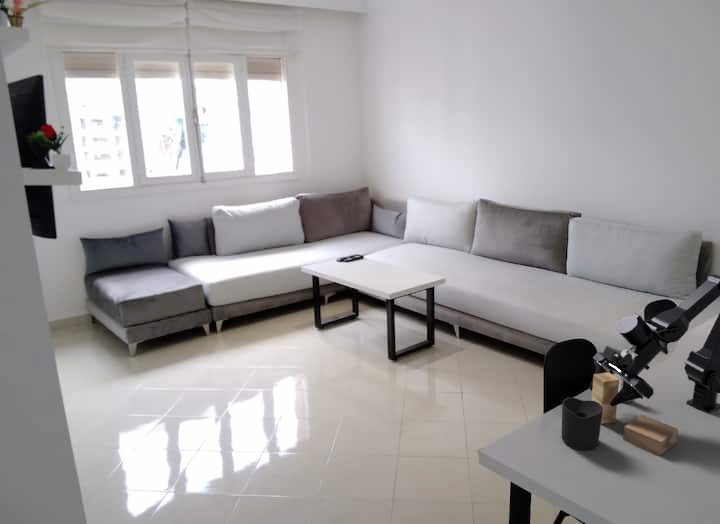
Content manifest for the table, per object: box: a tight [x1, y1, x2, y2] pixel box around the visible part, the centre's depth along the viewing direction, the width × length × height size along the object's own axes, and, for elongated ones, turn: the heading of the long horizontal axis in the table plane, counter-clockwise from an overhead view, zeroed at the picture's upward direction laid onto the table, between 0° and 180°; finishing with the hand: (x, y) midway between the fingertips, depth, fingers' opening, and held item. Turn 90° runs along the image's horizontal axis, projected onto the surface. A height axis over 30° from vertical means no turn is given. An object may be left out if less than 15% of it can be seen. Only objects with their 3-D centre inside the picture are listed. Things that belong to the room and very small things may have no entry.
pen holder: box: [561, 397, 603, 451], centre depth 137 cm, size 9×9×10 cm
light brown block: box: [622, 414, 679, 456], centre depth 137 cm, size 9×9×4 cm
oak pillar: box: [590, 372, 620, 425], centre depth 147 cm, size 4×4×12 cm
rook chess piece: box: [618, 374, 632, 404], centre depth 157 cm, size 4×4×8 cm
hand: (600, 397), depth 146 cm, fingers open, 9 cm apart
